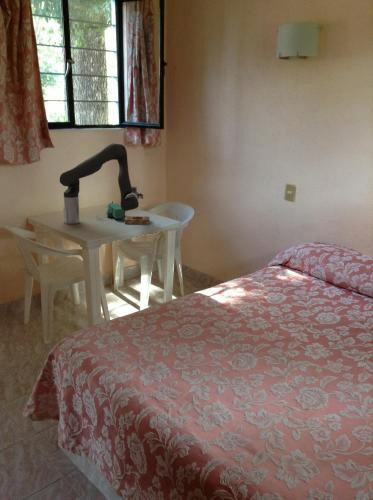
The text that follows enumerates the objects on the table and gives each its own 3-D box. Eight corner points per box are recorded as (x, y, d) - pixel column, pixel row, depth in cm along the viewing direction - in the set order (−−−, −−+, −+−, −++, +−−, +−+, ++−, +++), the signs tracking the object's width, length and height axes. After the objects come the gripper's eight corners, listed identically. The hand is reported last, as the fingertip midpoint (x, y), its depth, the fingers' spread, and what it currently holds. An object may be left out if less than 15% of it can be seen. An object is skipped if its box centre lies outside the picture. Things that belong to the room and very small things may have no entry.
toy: (118, 198, 317) (128, 206, 291) (119, 211, 320) (128, 220, 294) (102, 198, 313) (110, 207, 287) (103, 211, 316) (110, 221, 290)
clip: (136, 205, 283) (136, 187, 279) (130, 205, 283) (130, 187, 279) (136, 204, 287) (136, 186, 283) (130, 204, 286) (130, 186, 283)
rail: (124, 224, 284) (124, 219, 283) (126, 220, 294) (125, 216, 293) (149, 224, 285) (149, 220, 284) (149, 220, 294) (149, 216, 294)
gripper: (143, 192, 268) (144, 188, 284) (120, 192, 267) (123, 187, 284) (143, 204, 270) (144, 199, 287) (120, 204, 270) (123, 199, 286)
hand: (133, 193), depth 285 cm, fingers closed on clip, 4 cm apart
